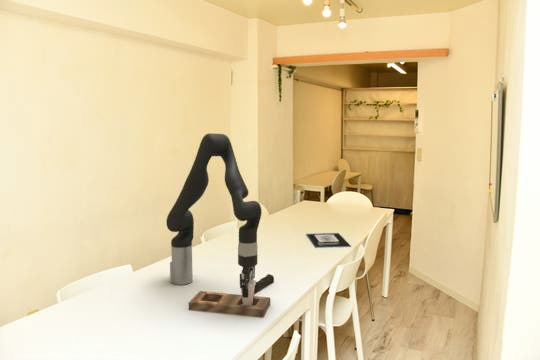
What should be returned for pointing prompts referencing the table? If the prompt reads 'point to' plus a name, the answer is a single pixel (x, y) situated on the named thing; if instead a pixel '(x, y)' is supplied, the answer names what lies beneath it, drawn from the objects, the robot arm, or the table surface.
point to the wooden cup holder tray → (228, 304)
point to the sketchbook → (327, 240)
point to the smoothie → (249, 293)
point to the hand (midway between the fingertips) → (247, 293)
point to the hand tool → (263, 282)
